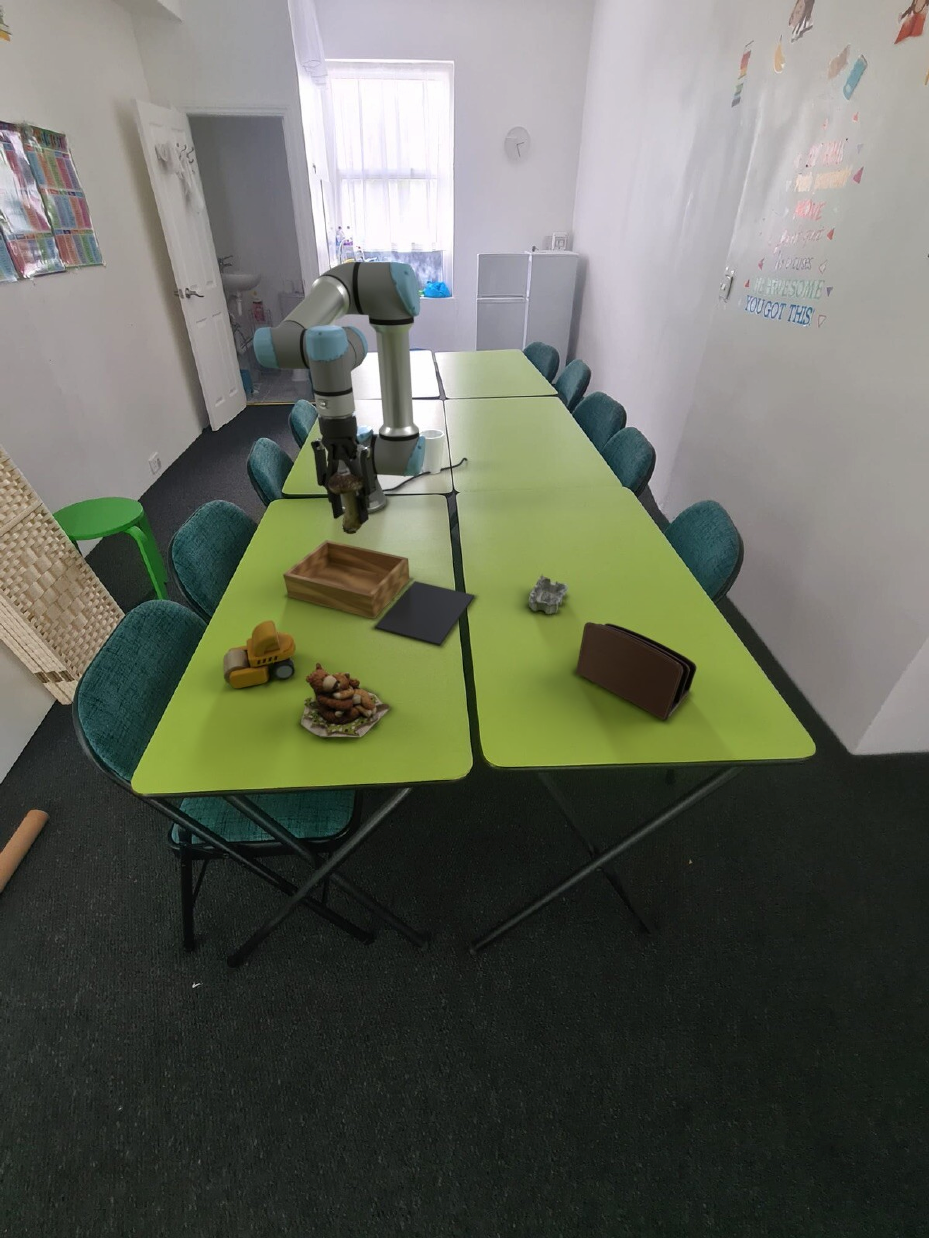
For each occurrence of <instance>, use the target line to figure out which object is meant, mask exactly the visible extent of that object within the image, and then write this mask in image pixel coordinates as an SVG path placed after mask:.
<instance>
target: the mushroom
mask: <svg viewBox="0 0 929 1238" xmlns="http://www.w3.org/2000/svg"><path fill="white" fill-rule="evenodd" d="M328 486H329V489H330V490H331V491H332V492H333V493H335V494H339V495H340V494H342V496H343V500H344V507H345V512H344V514H343V516H344V517H343V519H342V524H341V526H342V530H343V533H346V534H347V535H354V534H356V533H357V531H359V530H360V529H361V527H362V526H363V524H359V517H358V509H357V502H356V496H357V491H359V490H361V489H362V488H364V487H365V486H364V481H363V475H360V476H358V477H356V476H354V475H352V474H351V473H350V471H349V468H345V469H341V470H338V471H337V472H335V473H334V474H333V476H332V477H331V478H330V480H329V483H328Z"/></svg>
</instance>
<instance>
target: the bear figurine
mask: <svg viewBox="0 0 929 1238" xmlns="http://www.w3.org/2000/svg"><path fill="white" fill-rule="evenodd" d="M305 682H306V683H307V684H309V687H311V688H312V691H313V694H314V698H315V699H314V698H313V697H311V696H310V697H308V698H305V699H304V700H303V703H304V705H303V706H305V708H304V711H303V714H302V717H301V719H300V724H301V726H303V727H304V728H305V729H306V730H308V731H309V732H311V733H312V734H314V735H316V736H318V737H319V738H325V739H326V737H327V738H330V737H331V738H333V737H340V738H341V737H342V738H343V737H345V738H361V737H363V736H364V735H365V734H366V733H367V732H368V731H370V730H371V729H372V728H373V726H375V724H376V723H377V722H378V721H379V720H380V719H382V717H383V716H384V715H385V714H386V713H387V712H388V711H389V710H390V708H391V706H390V704H388V703H385V702H384V703H383V702H382V701H381V700H380V699H379V698H378V696H377V695H376V694H374V693H372V692H369V691H368V690H367V691H366V690H364V689H363V688H361V687H360V684H361V681H360V680H359V679H358V678H355V677H351V674H350V672H349V671H346V672H341V671H339V672H335V673H333V674H330V673H329V672H328V671H326V670H325V669H324V668H323V667H322V664H321V663H320V662H316V663H315V670H312V671H311V672H310V674H309V675H306V677H305Z"/></svg>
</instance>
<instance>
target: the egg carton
mask: <svg viewBox="0 0 929 1238" xmlns="http://www.w3.org/2000/svg"><path fill="white" fill-rule="evenodd" d="M536 581H537V582H536V584H535V585H534V586H533V589H532V590H531V591H530V593H529V598H528V602H529V606H528V607H529V608H531V611H533V612H538V611H544V612H545V614H548V615H550V614H557V613H558V609H559V606H561V605H562V603H563V602H562V601H563V599H565V597H566V593H567V590H568V589H569V585H568V584H565V583H564V582H561V583H560V582H559V581H557V580H556V581H555V582H551V581H552V580H551V579H550V578H549V577H546V576H544V574H541V575H540V576H539V578H538V579H537V580H536Z"/></svg>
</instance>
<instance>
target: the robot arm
mask: <svg viewBox="0 0 929 1238" xmlns="http://www.w3.org/2000/svg"><path fill="white" fill-rule="evenodd" d="M416 275H417V274H416V273H415V270H414V269H413V267H412V266H411V264H409V263H408V262H401V261H394V260H391V261H357V260H355V261H354V260H353V261H346V262H343V263H340V264H337V265H335V266H334V267H332V268H330V269H328V270H326V271H325V272H323V273H322V274H321V275H319V276H318V277H317V278H316V279H315V280H314V281H313V283H312V285H311V287H310V291H309V293H308V294H307V295H306V296H305V297H304V298H303V299H302V301H301V302H299V304H298V305H297V306H296V307H295V308H294V309H292V310H291V312H290V313H289V314H288V315H287V316H286V317H285V318H284V319H282V321H281V322H280V323H279V324H278V325H277V326H276V327H271V326H267V327H259V328H258V329H256V330H255V332H254V335H253V339H252V340H253V341H252V342H253V343H252V345H253V350H254V354H255V357H256V359H257V361H258V363H259V364H260V365H261V366H262V367H264V368H270V369H277V370H281V369H282V370H310V376H311V382H312V390H313V395H314V400H315V401H314V402H315V408H316V413H317V414H318V417H317V421H318V427H319V433H320V435H321V438H320V437H318V438H316V439H314V440H312V441H311V442H310V446H311V449H312V451H313V455H314V465H315V473H316V481H317V486H319V487H324V488H325V490H326V494H327V501H328V503H329V504H331V509H332V515H333V519H335V520H337V519H339V518H340V517H342V516H343V515H344V513H345V507H344V500H343V496H342V494H340V495H339V494H335V493H333V492H332V491H331V490H330V489H329V486H328V483H329V480H330V478H331V477H332V476H333V474H334V473H335V472H337V471H338V470H341V469H345V468H349V471H350V473H351V474H352V475H354V476H356V477H358V476H360V475H363V481H364V486H365V487H364V488H362V489H361V490H359V491H357V496H356V502H357V509H358V517H359V524H362V525H364V524H365V523H366V522H367V521H369V518H370V517H369V514H372V513H375V512H377V511H380V510H382V509H383V508H384V507H385V506H386V504H387V499H386V495H385V492H393V491H396V490H398V489H399V488H401V487H402V486H404V485H406V484H407V483H409V482H410V481H412V480H415V479H417V478H419V477H422V476H425V475H430V474H429V473H431V472H430V471H428V472H422V471H423V467H422V466H423V462H424V457H425V448H426V441H425V437H424V436H422V435H419V432H420V428H419V427H418V425H416V424H415V422H414V406H413V387H412V369H411V367H412V366H411V349H410V329H411V328H413V326H414V324H415V317H417V316H419V315H420V312H421V294H420V289H419V288H420V287H419V282H418V279H417V276H416ZM346 315H348V316H349V315H353V316H355V315H356V316H358V315H359V316H360V315H361V316H368V324H369V326H370V327H371V328H372V329H374V332H375V339H376V351H377V363H378V364H377V365H378V374H379V375H378V376H379V385H380V386H379V387H380V388H379V389H380V400H381V409H382V410H381V413H382V423H383V424H382V425H381V426H380V427H379V428H378V433H374V432H375V431H374V429H373V428H372V427H371V426H368V425H358V421H357V414H356V413H355V412H356V403H355V397H354V396H355V395H354V388H353V380H352V379H353V378H352V371H354V370H355V369H357V368H358V367H360V366H361V365H362V364H363V362H364V360H365V359H366V357H367V355H368V352H369V345H368V341H367V338H366V336H365V334H364V333H363V332H362V331H361V329H359V328H357V327H355V326H352V325H345V326H339V325H332V324H333V323H334V322H335V321H337V320H340V319H342V318H343V317H345V316H346ZM464 461H468V458H467V457H462V458H461V460H460V462H458V463H456V464H455V465H450V466H446V467H441V469H440V472H442V471H446V470H451V469H455V468H457V467H460V466H461V465H462V464H463V463H464ZM378 476H393V477H394V476H395V477H396V476H397V477H404V478H406V477H409V478H408V479H405V480H404V481H402V482H401V483H400V484H398V485H397V486H394V487H392V488H384V489H383V488H382V485H381V483H380V481H379V478H378Z"/></svg>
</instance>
